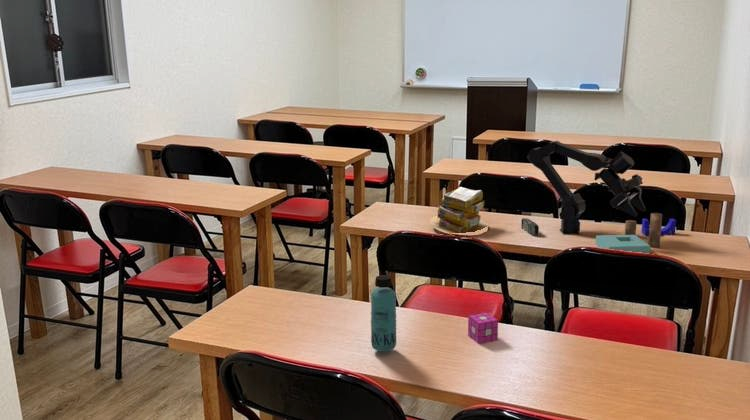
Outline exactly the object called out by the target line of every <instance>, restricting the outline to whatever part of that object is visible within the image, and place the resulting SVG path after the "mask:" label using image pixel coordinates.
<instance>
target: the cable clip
mask: <svg viewBox="0 0 750 420" xmlns="http://www.w3.org/2000/svg"><path fill="white" fill-rule="evenodd" d="M649 220H650V219H649ZM649 220H648V218H642V220H641V230H640V231H641V234H642V233H643V234H642V235H643V236H644V235H645V236H644V237H649V228H650V221H649ZM676 224H677V220H676V219H674V218H669V219H668V222H667V224H666V225H665V226H664V227H661V236H675V235H676Z"/></svg>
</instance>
